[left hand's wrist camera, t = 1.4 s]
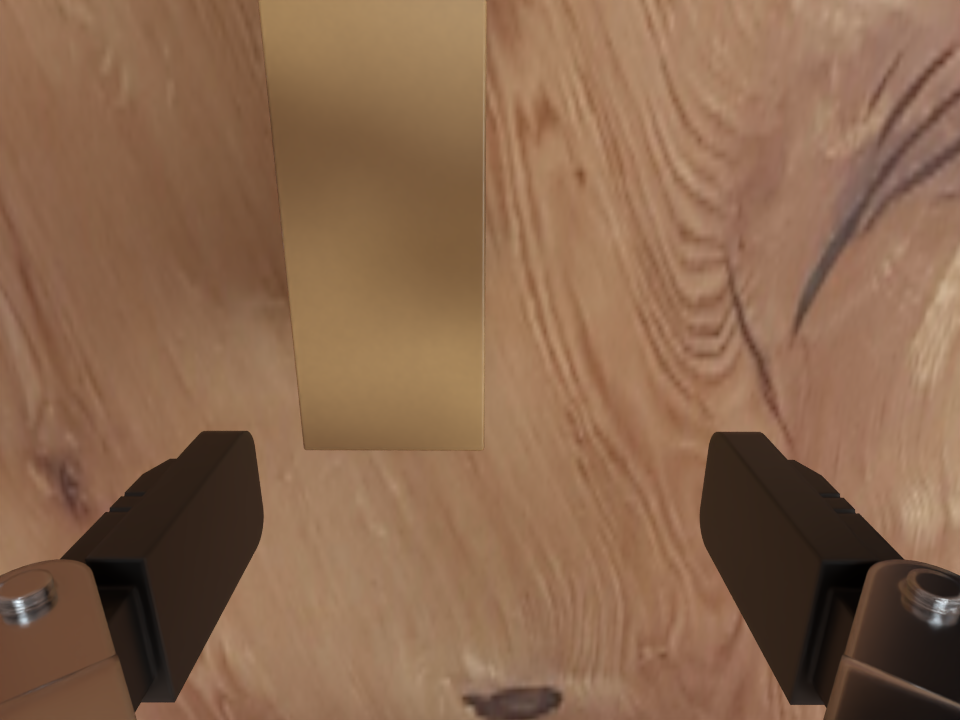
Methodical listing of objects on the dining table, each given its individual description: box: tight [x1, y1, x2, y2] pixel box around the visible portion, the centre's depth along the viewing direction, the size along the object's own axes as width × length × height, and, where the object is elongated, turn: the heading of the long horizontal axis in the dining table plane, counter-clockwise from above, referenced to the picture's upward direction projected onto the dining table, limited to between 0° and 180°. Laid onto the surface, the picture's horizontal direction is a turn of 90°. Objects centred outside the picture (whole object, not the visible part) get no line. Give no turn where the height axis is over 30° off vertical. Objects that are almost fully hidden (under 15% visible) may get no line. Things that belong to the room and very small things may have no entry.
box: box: [258, 0, 487, 451], centre depth 21 cm, size 27×6×11 cm, turn 0°
